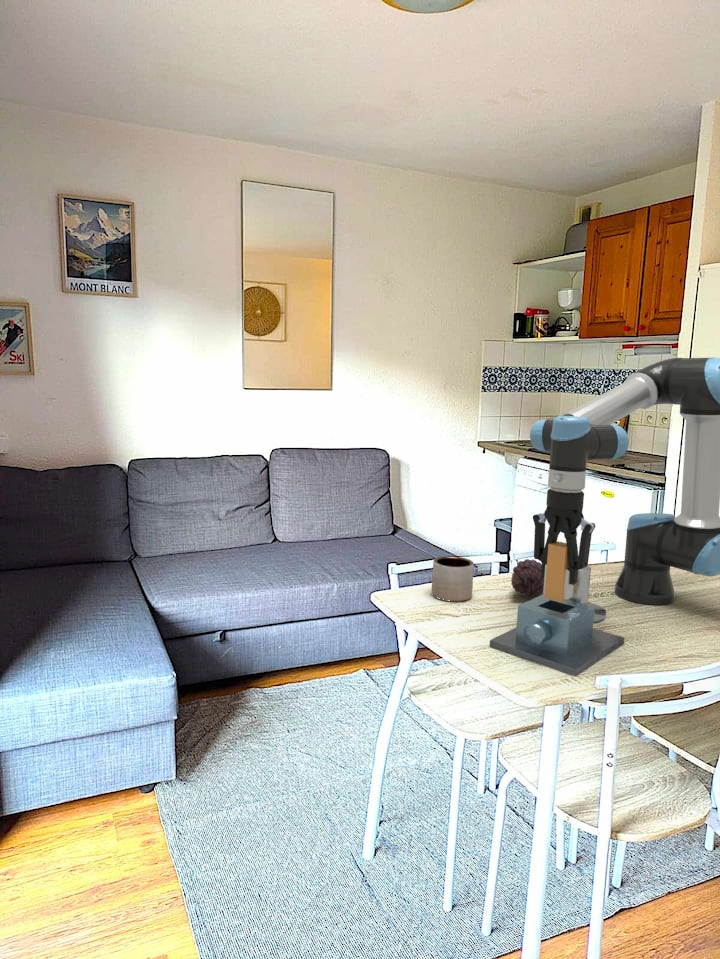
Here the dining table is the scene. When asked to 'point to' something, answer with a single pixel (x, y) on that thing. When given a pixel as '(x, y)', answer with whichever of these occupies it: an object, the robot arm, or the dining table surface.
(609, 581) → the dining table surface
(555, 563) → the orange rectangular block
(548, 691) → the dining table surface
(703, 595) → the dining table surface
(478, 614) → the dining table surface
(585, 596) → the grey square hole fixture
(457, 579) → the planter
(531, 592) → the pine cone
